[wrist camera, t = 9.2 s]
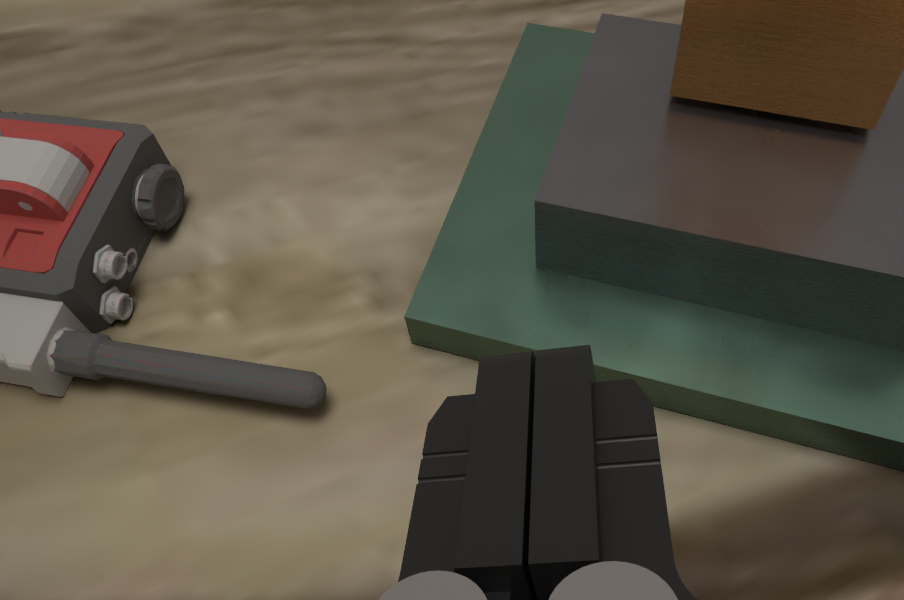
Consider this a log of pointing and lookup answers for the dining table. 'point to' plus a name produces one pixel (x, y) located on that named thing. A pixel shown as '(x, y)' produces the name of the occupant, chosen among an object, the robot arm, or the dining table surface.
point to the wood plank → (793, 56)
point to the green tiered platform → (681, 244)
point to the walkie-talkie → (97, 263)
